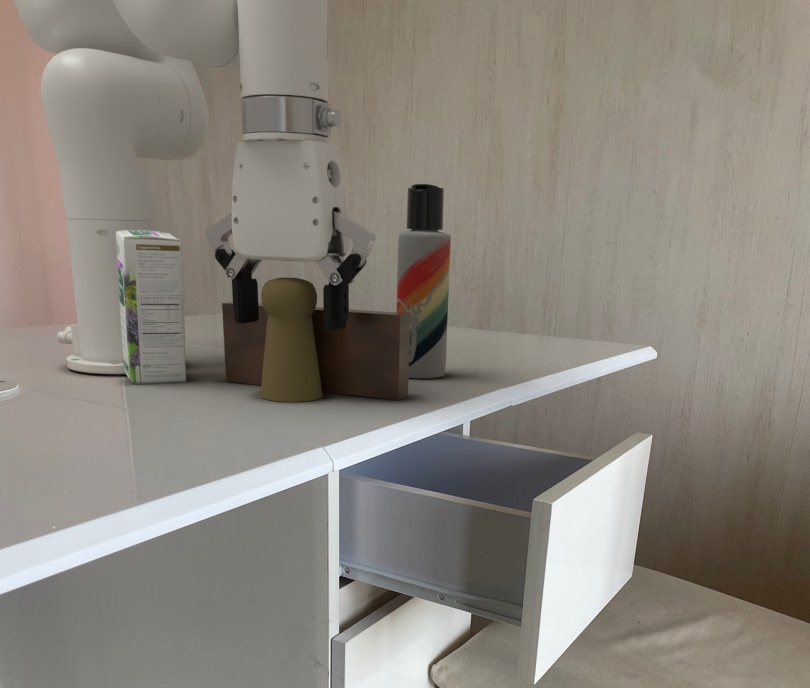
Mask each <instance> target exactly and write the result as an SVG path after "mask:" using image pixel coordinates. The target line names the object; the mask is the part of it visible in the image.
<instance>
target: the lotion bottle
mask: <svg viewBox="0 0 810 688" xmlns="http://www.w3.org/2000/svg"><path fill="white" fill-rule="evenodd" d="M444 197H445V189H444V187H439V186H438V185H434V184H430V183H429V184H428V183H416V184H412V185H411V187H407V203H406V204H407V205H406V229H407V230H408V231H403V232H400V233H399V234H398V236H397V237H398V238H397V272H396V275H397V276H396V312H398V313H410V338H409V377H408V379H426V380H428V379H437V378H438V379H439V378H443V377H444V376H445V374H446V364H447V345H448V344H447V342H448V339H447V338H448V319H449V318H448V317H449V316H448V314H449V294H450V271H451V269H450V268H451V266H450V265H451V244H452V243H451V241H452V240H451V235H450V234H448V233H446V232H444V231H443V230H444V203H445V202H444V201H445V198H444ZM442 231H443V232H442Z"/></svg>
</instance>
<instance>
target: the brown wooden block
mask: <svg viewBox="0 0 810 688" xmlns="http://www.w3.org/2000/svg"><path fill="white" fill-rule="evenodd" d="M221 307H222V308H221V310H222V311H221V312H222V329H223V331H222V332H223V350H224V369H225V370H224V371H225V382H227V383H237V384H245V385H255V386H261V383H262V372H263V362H264V351H265V340H266V330H267V319H268V314H267V312H266V311H265V309H264V308H263V305H262V302H261V303H260V302H258V307H259V319H258V320H257V321H256V322H249V323H242V324H241V323H236V322H235V313H234V310H233V301H231V302H228V301H227V302H222V303H221ZM311 316H312V324H313V331H314V338H315V345H316V352H317V359H318V366H319V373H320V380H321V388H322V393H327V394H338V395H344V396H345V395H346V396H353V397H354V396H355V397H363V398H373V399H381V400H390V401H391V400H392V401H400V400H403V399H405V398H408V397H409V378H408V377H409V338H410V313H398V312H397V311H396V312H395V311H380V310H368V309H367V310H365V309H351V308H349V316H348V319H347V320H346V326H345V328H343V329H337V330H332V331H331V330H326V329H325V328H324V315H323V307H321V306H316V308H315V310H314V311H313V313H312V314H311Z"/></svg>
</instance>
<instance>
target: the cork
mask: <svg viewBox="0 0 810 688" xmlns="http://www.w3.org/2000/svg"><path fill="white" fill-rule="evenodd" d="M260 292H261V293H260V300H261V303H262V305H263V308H264V309H265V311H266V312H267V314H268V319H267V330H266V340H265V351H264V362H263V372H262V383H261V385H260V393H259V396H260V398H262V399H264V400H268V401H272V402H273V401H274V402H285V403H299V402H300V403H301V402H310V401H315V400H320V399H321V398H323V396H324V395H323V392H322V388H321V380H320V373H319V366H318V359H317V352H316V345H315V338H314V331H313V324H312V316H311V314H312V313H313V311H314V310H315V308H316V307H317V303H318V292H317V289H316V287H315V285H314V283H312V282H311V281H310V280H306V279H303V278H299V277H276V278H272V279H269V280H267V281H266V282H265V283H264V284H263V286H262V288H261V291H260Z"/></svg>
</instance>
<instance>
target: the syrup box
mask: <svg viewBox="0 0 810 688" xmlns="http://www.w3.org/2000/svg"><path fill="white" fill-rule="evenodd" d="M116 244H117V260H118V281H119V300H120V318H121V334H122V348H123V361H124V370H125V373H126V374H125V375H126V377H127V378H128V380H129V381H130V383H131V384H132V385H142V384H145V385H146V384H162V383H163V384H164V383H177V382H179V383H180V382H186V381H187V367H186V366H187V364H186V362H187V361H186V335H185V308H184V307H185V303H184V271H183V270H184V269H183V250H182V249H183V247H182V245H183V244H182V239H181V238H177V237H176V236H174V235H172V233H169V232H163V231H160V232H157V231H149V230H124V231H116Z"/></svg>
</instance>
